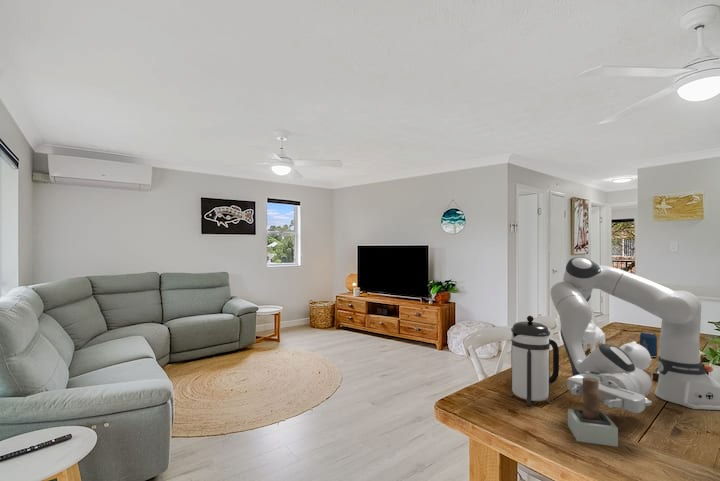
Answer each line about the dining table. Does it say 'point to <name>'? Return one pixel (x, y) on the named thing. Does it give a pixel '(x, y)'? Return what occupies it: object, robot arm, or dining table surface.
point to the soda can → (649, 342)
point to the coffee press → (532, 361)
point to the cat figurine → (592, 337)
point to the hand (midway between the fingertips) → (589, 397)
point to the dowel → (590, 398)
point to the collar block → (592, 428)
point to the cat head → (637, 355)
